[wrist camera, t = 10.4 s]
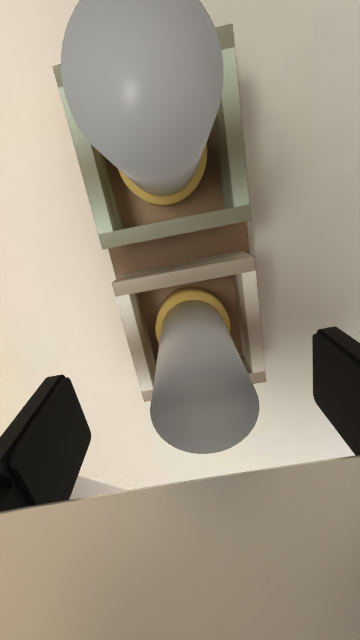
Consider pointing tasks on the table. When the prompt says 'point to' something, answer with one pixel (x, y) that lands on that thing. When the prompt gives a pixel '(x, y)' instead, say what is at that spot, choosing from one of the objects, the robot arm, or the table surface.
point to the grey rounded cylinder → (200, 376)
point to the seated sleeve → (145, 89)
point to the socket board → (180, 235)
